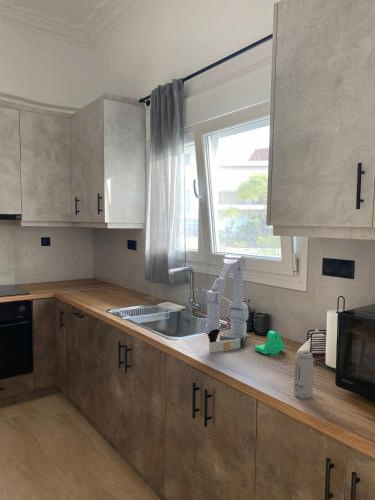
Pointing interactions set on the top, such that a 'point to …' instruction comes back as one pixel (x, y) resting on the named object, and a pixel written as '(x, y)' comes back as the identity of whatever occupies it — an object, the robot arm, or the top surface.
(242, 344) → the block
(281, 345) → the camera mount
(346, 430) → the top surface
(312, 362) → the energy drink can
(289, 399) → the top surface
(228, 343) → the door
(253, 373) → the top surface
